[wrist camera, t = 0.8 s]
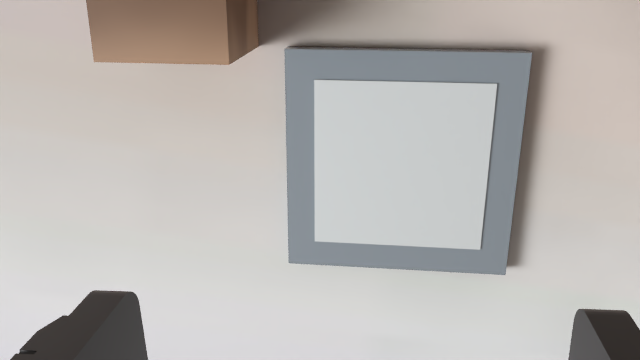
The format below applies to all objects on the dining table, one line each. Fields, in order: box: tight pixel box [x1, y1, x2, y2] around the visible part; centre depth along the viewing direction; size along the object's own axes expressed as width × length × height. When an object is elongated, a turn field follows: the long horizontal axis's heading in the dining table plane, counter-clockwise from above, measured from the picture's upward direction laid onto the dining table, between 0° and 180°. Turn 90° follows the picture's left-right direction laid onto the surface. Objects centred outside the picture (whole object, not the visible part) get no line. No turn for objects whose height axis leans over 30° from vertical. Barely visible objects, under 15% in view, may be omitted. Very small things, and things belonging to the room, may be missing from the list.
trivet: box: [285, 47, 532, 275], centre depth 32 cm, size 12×12×1 cm
